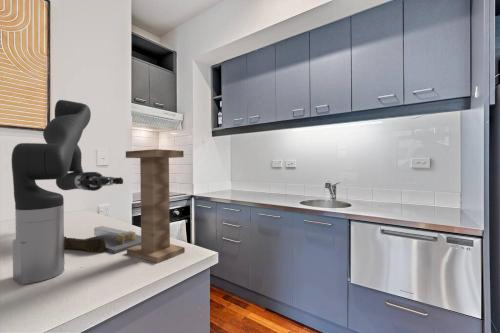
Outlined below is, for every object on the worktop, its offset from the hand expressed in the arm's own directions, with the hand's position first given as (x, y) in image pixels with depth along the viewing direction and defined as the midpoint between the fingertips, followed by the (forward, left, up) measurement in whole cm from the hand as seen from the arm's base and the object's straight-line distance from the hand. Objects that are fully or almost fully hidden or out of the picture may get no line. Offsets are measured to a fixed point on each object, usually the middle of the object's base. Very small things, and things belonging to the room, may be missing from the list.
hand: (110, 181), depth 90 cm
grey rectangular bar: (0, -2, -21) cm, 21 cm away
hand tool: (-10, -2, -22) cm, 24 cm away
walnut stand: (0, -26, -22) cm, 34 cm away
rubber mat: (0, -5, -22) cm, 22 cm away
